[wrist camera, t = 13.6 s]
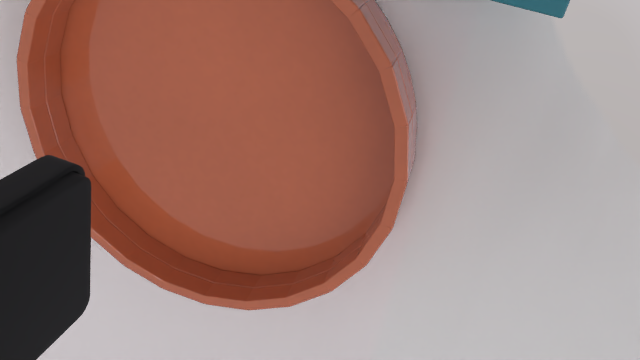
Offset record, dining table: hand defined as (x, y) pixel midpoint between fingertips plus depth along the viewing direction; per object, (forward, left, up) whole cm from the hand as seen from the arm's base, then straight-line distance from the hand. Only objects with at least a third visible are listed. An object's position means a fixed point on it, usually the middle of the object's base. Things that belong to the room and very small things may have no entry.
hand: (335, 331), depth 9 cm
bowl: (+9, +6, -18) cm, 21 cm away
